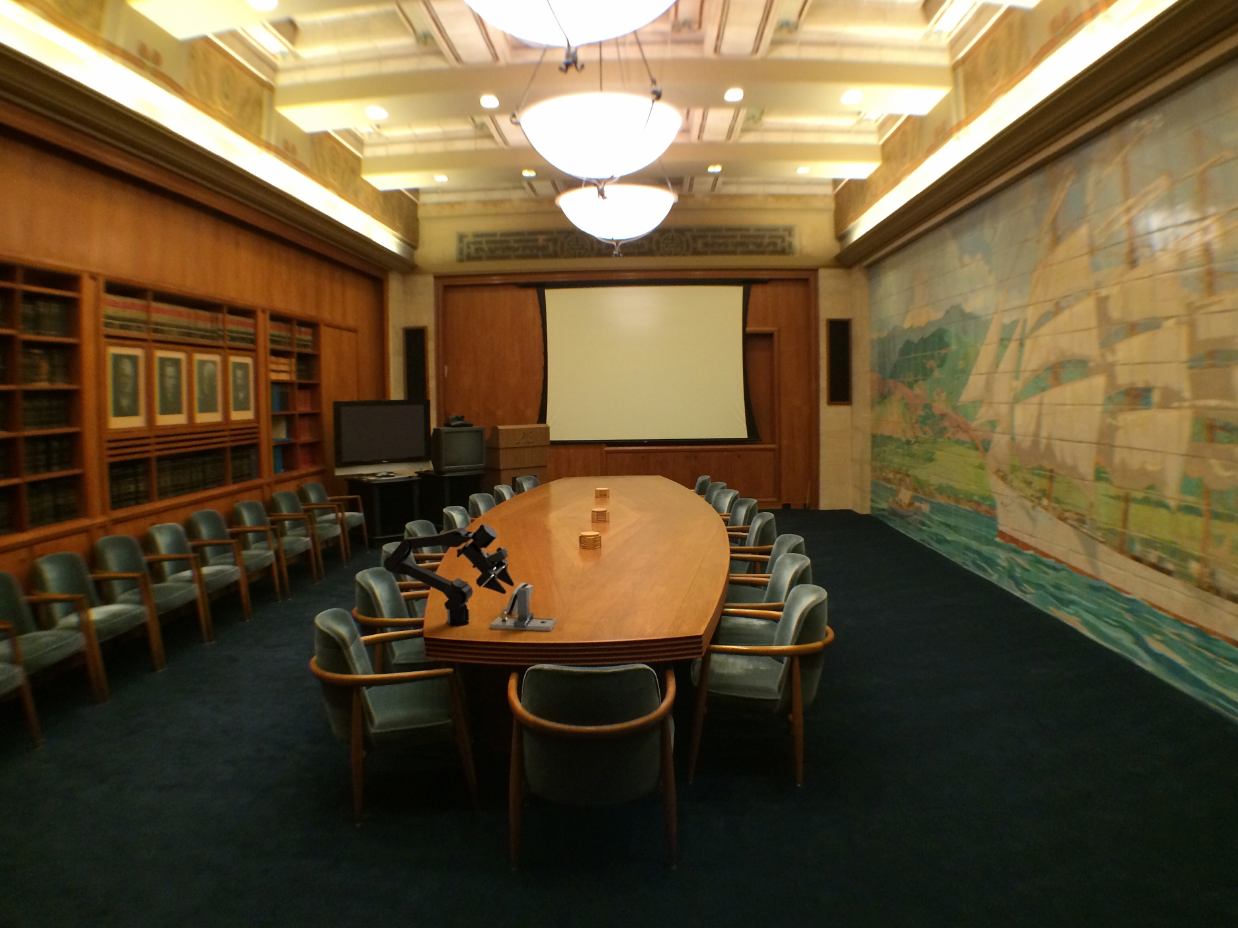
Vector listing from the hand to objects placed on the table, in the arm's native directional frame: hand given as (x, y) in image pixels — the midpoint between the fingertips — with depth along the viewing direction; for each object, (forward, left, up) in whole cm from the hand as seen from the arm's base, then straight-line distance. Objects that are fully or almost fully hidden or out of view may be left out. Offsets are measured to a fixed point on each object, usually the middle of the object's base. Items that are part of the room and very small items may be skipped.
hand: (509, 589), depth 239 cm
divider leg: (+4, -3, -12) cm, 13 cm away
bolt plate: (+4, -3, -13) cm, 14 cm away
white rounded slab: (+10, +17, -13) cm, 24 cm away
